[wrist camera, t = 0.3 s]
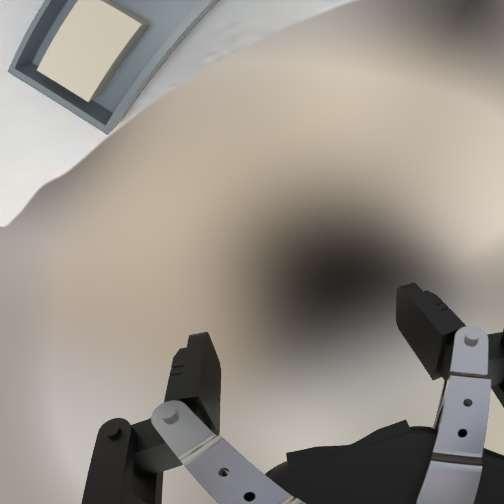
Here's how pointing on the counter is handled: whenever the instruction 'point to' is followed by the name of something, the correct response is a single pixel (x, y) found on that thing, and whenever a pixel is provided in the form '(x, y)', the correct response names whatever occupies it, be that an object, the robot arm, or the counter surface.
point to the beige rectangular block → (91, 46)
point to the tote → (131, 69)
